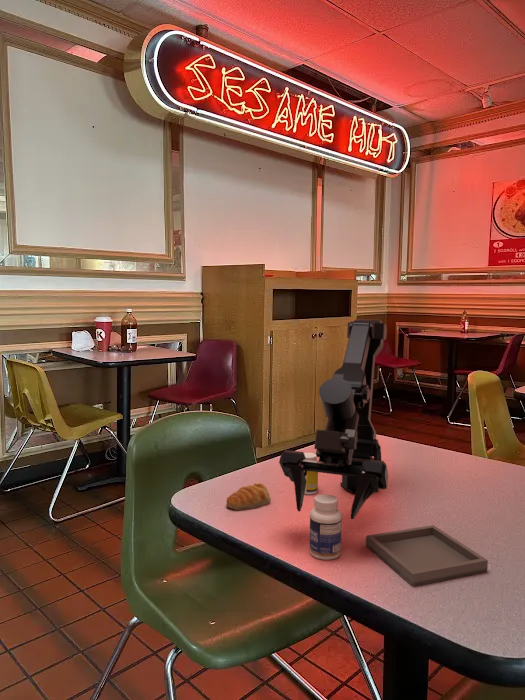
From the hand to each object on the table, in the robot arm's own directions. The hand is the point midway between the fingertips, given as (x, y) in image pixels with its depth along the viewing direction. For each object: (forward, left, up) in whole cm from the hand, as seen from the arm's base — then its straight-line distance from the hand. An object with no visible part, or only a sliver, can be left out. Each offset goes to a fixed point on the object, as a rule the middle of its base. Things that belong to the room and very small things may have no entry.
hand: (324, 514), depth 92 cm
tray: (-15, +6, -7) cm, 18 cm away
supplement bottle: (-9, -29, -7) cm, 31 cm away
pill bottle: (0, -1, -7) cm, 8 cm away
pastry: (+5, -26, -8) cm, 27 cm away
